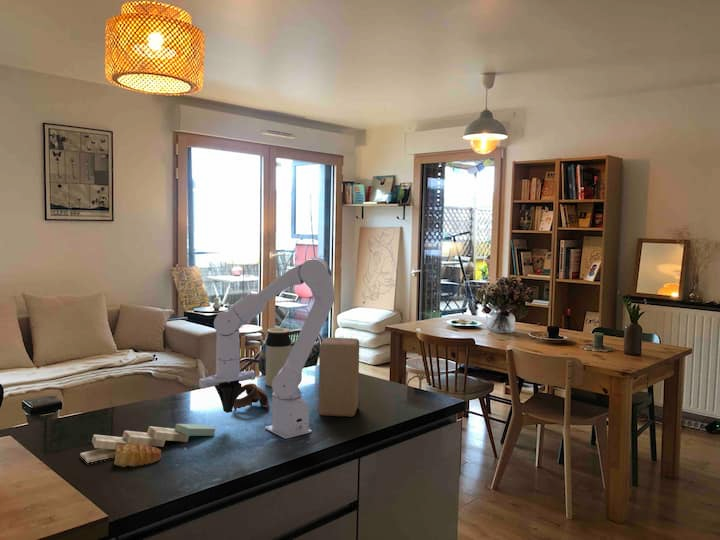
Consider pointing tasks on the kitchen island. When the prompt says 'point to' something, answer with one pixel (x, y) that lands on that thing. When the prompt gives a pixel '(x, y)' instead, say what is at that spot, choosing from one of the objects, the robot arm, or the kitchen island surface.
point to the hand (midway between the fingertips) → (227, 411)
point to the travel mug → (276, 352)
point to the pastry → (136, 455)
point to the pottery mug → (251, 397)
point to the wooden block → (338, 377)
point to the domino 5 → (195, 429)
